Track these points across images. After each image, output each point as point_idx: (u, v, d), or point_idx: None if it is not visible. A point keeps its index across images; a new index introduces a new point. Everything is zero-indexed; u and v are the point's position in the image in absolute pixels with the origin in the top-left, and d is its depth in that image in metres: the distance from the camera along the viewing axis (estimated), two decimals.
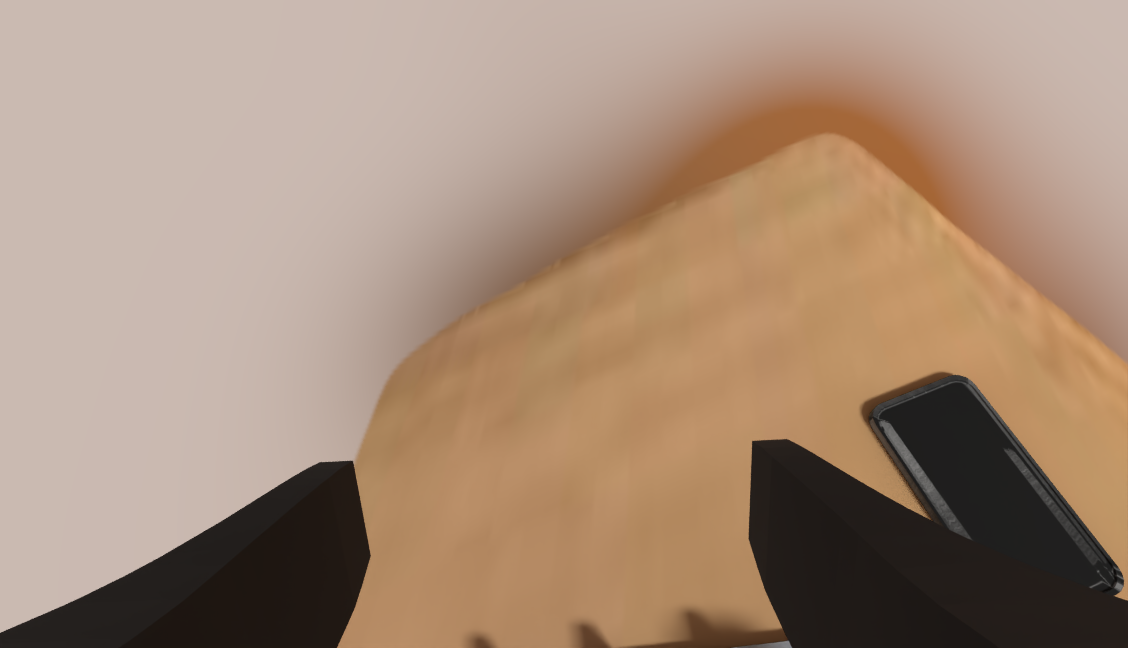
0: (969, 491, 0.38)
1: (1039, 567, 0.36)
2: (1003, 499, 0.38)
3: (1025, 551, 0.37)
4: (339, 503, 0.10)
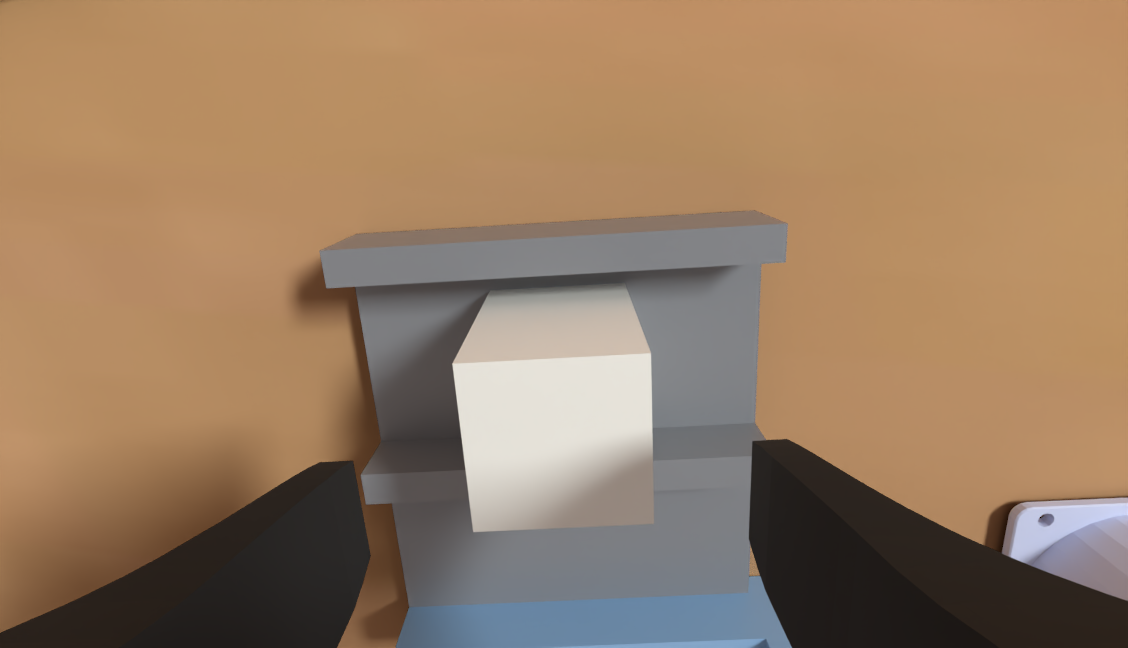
0: None
1: None
2: None
3: None
4: (339, 503, 0.10)
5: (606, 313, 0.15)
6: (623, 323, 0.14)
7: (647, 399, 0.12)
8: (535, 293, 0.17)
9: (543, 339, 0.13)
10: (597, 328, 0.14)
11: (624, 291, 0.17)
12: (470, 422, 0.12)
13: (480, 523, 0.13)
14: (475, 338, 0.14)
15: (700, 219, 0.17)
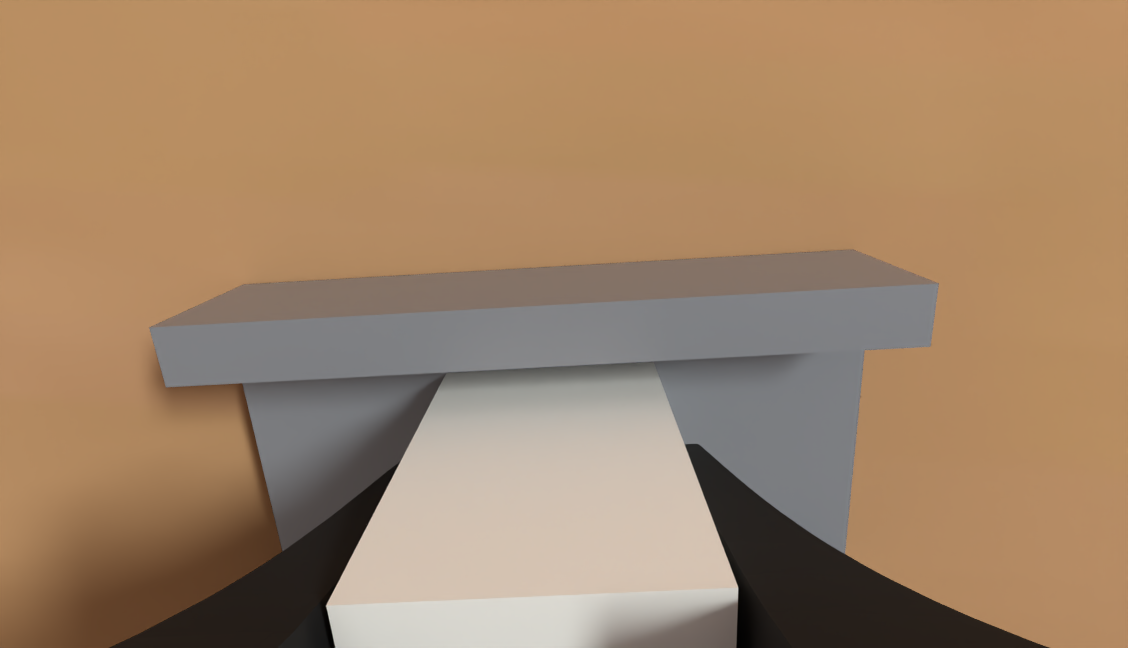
0: None
1: None
2: None
3: None
4: None
5: (632, 443, 0.09)
6: (665, 473, 0.08)
7: None
8: (515, 382, 0.11)
9: (518, 519, 0.07)
10: (619, 486, 0.07)
11: (656, 382, 0.10)
12: None
13: None
14: (393, 510, 0.07)
15: (777, 268, 0.10)
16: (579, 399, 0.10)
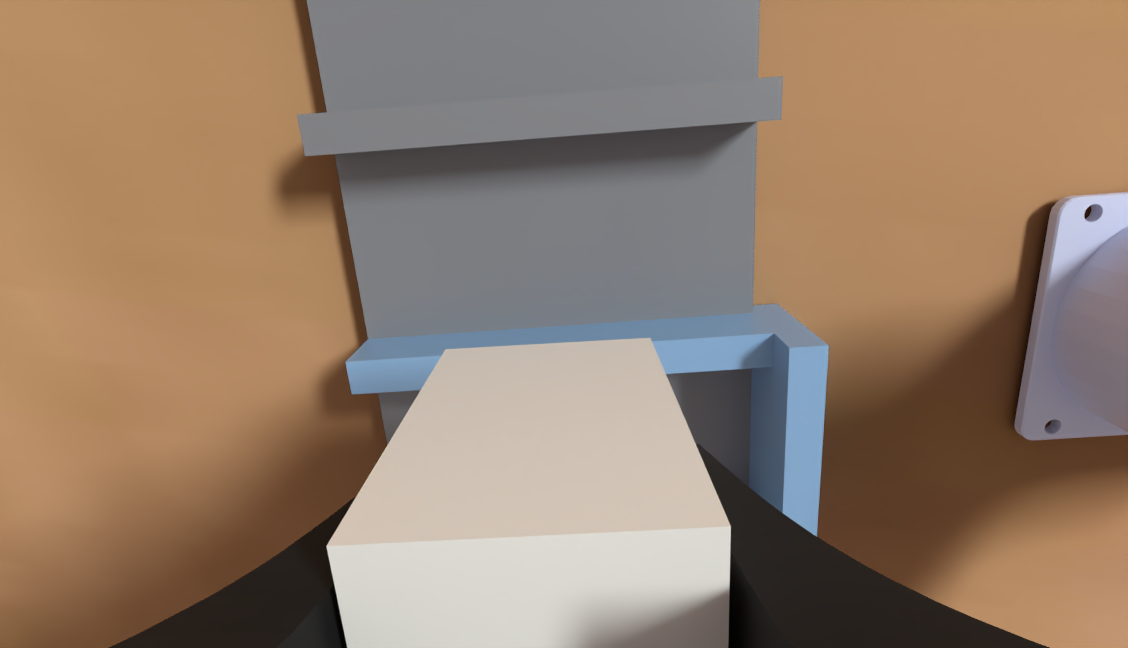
0: None
1: None
2: None
3: None
4: None
5: (628, 406, 0.09)
6: (660, 431, 0.08)
7: (720, 611, 0.06)
8: (514, 356, 0.11)
9: (515, 471, 0.07)
10: (615, 442, 0.08)
11: (652, 355, 0.11)
12: None
13: None
14: (392, 466, 0.07)
15: None
16: (576, 370, 0.10)
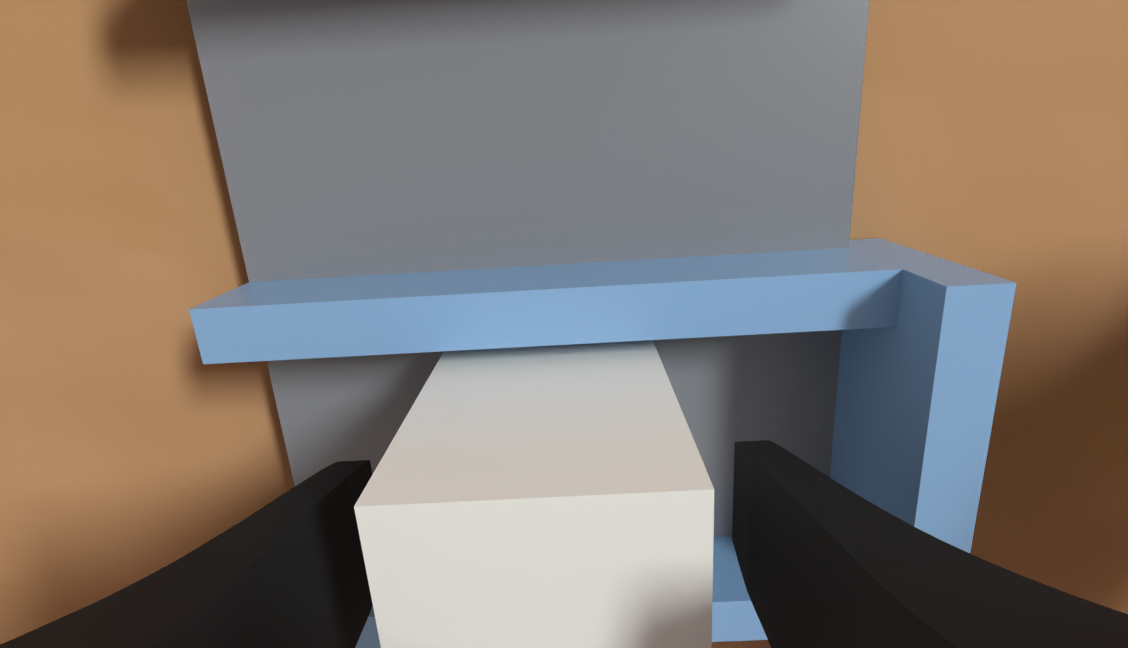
0: None
1: None
2: None
3: None
4: None
5: (624, 387, 0.09)
6: (654, 409, 0.09)
7: (705, 566, 0.07)
8: None
9: (521, 444, 0.08)
10: (612, 419, 0.08)
11: (648, 340, 0.11)
12: (391, 602, 0.07)
13: None
14: (409, 438, 0.08)
15: None
16: (577, 354, 0.11)
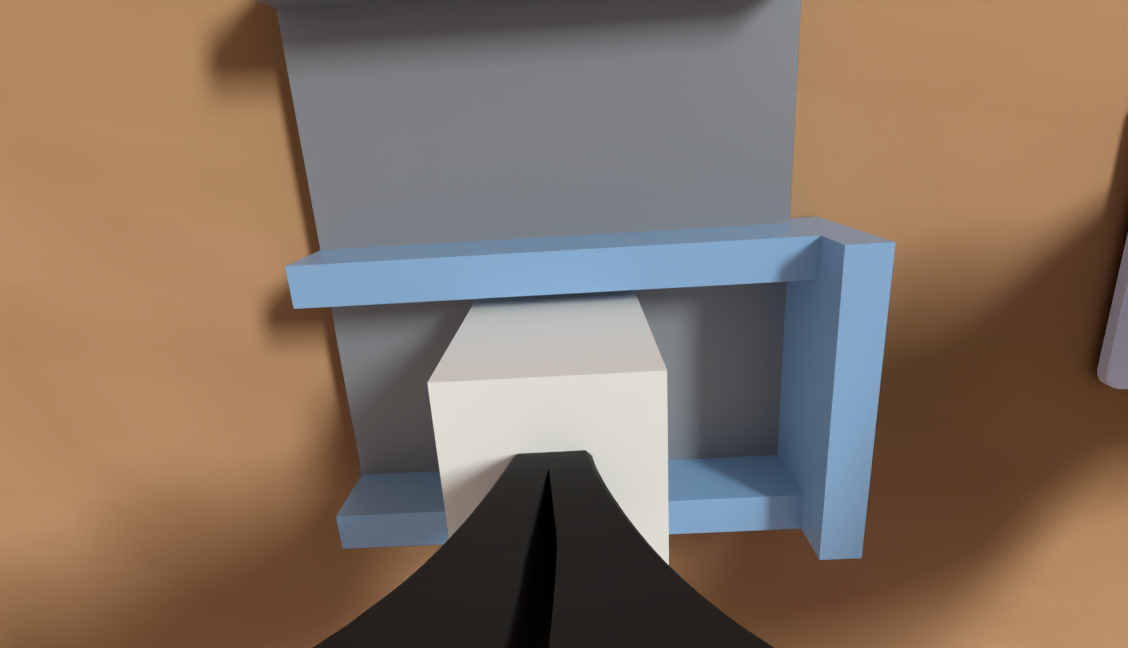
0: None
1: None
2: None
3: None
4: None
5: (611, 321, 0.13)
6: (632, 332, 0.12)
7: (662, 425, 0.10)
8: (531, 296, 0.15)
9: (537, 351, 0.11)
10: (601, 338, 0.12)
11: (632, 294, 0.15)
12: (449, 452, 0.10)
13: None
14: (457, 351, 0.11)
15: None
16: (577, 303, 0.14)
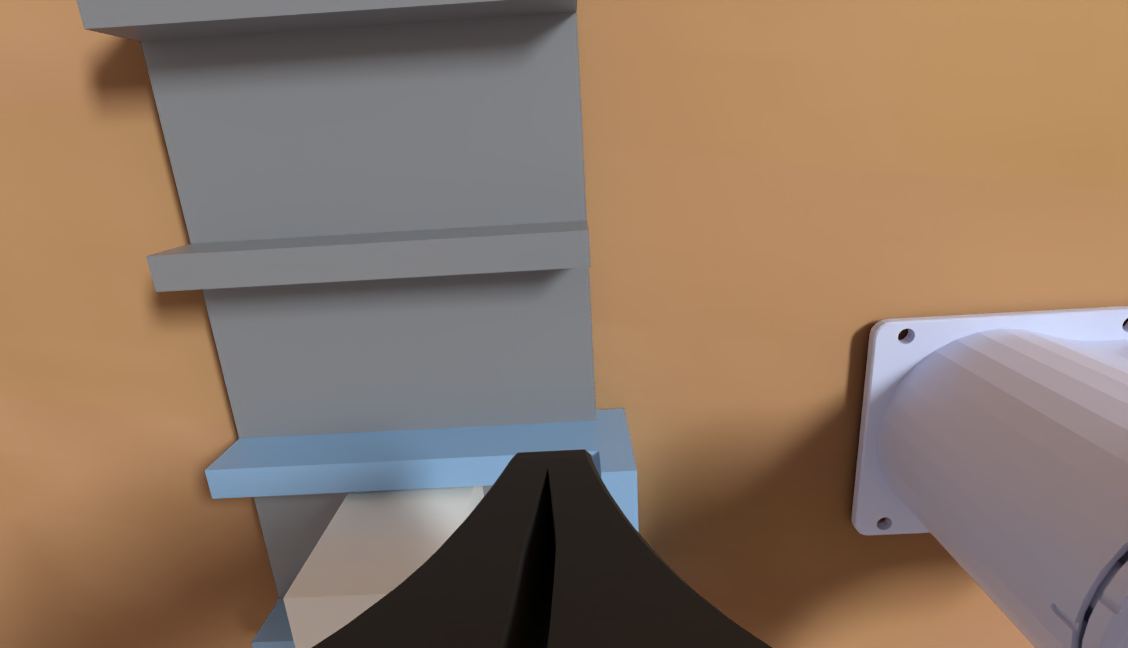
0: None
1: None
2: None
3: None
4: None
5: (439, 520, 0.17)
6: (446, 537, 0.17)
7: None
8: None
9: (371, 561, 0.16)
10: (422, 544, 0.16)
11: None
12: (302, 640, 0.15)
13: None
14: (317, 556, 0.16)
15: None
16: (427, 490, 0.19)
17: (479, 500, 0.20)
